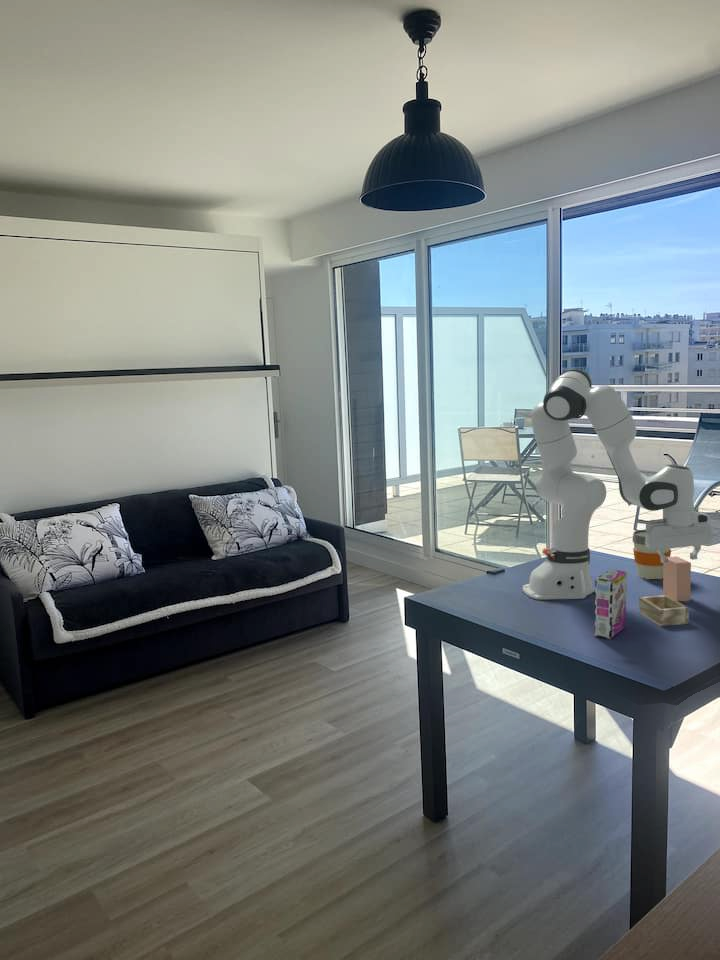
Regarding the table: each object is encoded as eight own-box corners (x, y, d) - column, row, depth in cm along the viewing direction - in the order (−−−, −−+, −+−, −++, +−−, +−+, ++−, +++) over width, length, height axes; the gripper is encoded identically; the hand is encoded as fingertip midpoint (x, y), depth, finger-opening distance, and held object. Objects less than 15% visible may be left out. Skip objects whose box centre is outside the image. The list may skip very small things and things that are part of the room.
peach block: (676, 602, 223) (677, 563, 221) (663, 594, 231) (663, 557, 229) (690, 600, 223) (690, 562, 221) (676, 593, 231) (676, 556, 229)
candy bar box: (612, 640, 195) (612, 581, 193) (593, 636, 198) (593, 578, 196) (627, 627, 204) (627, 570, 201) (609, 624, 207) (609, 568, 204)
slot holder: (659, 626, 204) (660, 610, 203) (639, 612, 215) (639, 597, 215) (688, 623, 204) (688, 607, 204) (666, 609, 216) (666, 594, 215)
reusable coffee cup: (634, 581, 245) (634, 537, 243) (630, 570, 257) (630, 529, 255) (674, 581, 242) (675, 537, 240) (668, 571, 254) (668, 529, 252)
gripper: (650, 522, 219) (651, 567, 221) (715, 515, 220) (715, 559, 223) (640, 518, 225) (641, 561, 227) (704, 511, 227) (704, 554, 229)
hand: (678, 560), depth 225 cm, fingers open, 8 cm apart
